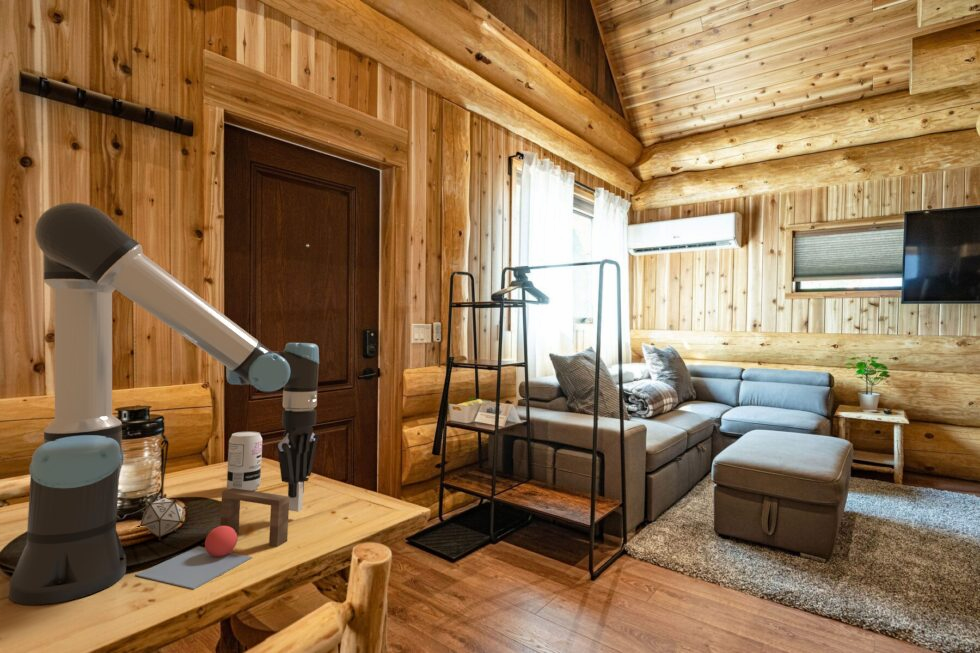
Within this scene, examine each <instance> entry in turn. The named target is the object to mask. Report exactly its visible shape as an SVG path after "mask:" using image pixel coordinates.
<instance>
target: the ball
mask: <svg viewBox="0 0 980 653" xmlns="http://www.w3.org/2000/svg"><path fill="white" fill-rule="evenodd" d="M205 537H206V538H205V541H204V547H205V548H206V551H207V552H208V553H209V554H210V555H212V556H215V557H221V556H225V555H227V554H229V553H232V551H233V550H234V549H235V548H236V546H237V542H238V533H236V532H235V530H234V529H233V528H231V527H229V526H220V525H219V526H217V527H215V528H213V529H211V531H210V532H209V533H208V534H207V535H206V536H205Z"/></svg>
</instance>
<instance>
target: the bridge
mask: <svg viewBox="0 0 980 653" xmlns="http://www.w3.org/2000/svg"><path fill="white" fill-rule="evenodd" d="M241 501H242V502H248V503H254V504H260V505H267V506H270V515H269V516H270V518H269V537H268V538H269V539H268V546H271V547H279V546H281V545H283V544H284V543H287V542H288V535H289V531H288V530H289V514H290V510H289V496H288V495H283V494H276V493H269V492H261V491H255V490H254V491H250V490H243V489H237V488H232V489H229V490H228V489H225V490H223V491H222V492H221V508H220V509H221V510H220V525H219V526H229V527H231V528H233V529H234V530H235V532H236V534H238V533H239V531H240V529H239V528H240V513H241V512H240V510H241Z"/></svg>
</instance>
